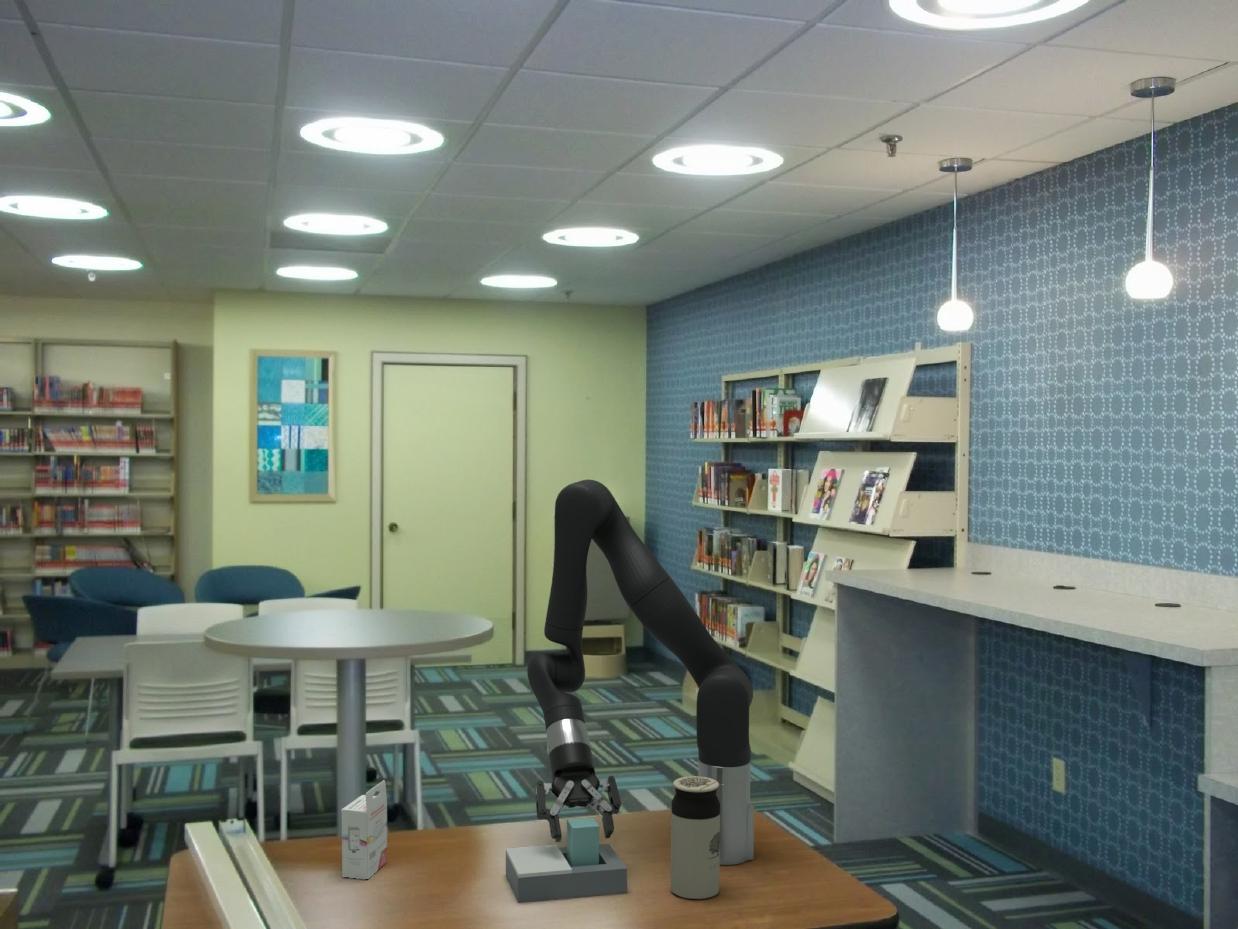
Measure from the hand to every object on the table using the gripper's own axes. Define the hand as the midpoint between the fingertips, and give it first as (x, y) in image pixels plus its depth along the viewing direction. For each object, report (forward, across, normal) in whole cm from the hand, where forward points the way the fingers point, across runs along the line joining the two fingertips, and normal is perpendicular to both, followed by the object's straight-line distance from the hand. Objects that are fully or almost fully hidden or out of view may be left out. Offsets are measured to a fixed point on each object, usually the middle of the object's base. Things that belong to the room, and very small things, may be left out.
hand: (584, 838), depth 200 cm
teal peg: (+5, 0, +6) cm, 8 cm away
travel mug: (+11, +17, 0) cm, 20 cm away
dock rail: (+5, -3, +6) cm, 8 cm away
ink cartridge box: (-5, -35, +16) cm, 39 cm away
